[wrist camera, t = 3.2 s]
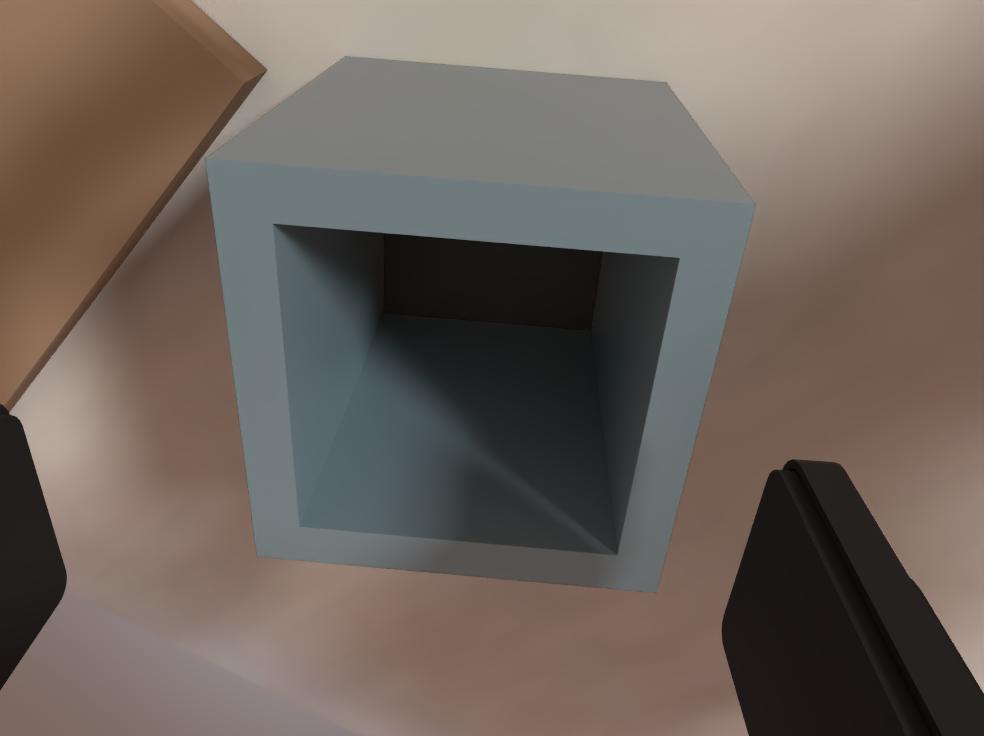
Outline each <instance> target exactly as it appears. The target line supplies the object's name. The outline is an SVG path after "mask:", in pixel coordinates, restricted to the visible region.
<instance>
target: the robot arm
mask: <svg viewBox="0 0 984 736" xmlns="http://www.w3.org/2000/svg"><path fill="white" fill-rule="evenodd" d="M66 581H67V575H66V569H65V566H64V563H63V559H62V556H61V552H60V549H59V546H58V542H57V539H56V536H55V532H54V529H53V526H52V522H51V519H50V516H49V512H48V509H47V506H46V502H45V499H44V496H43V492H42V489H41V486H40V482H39V479H38V476H37V472H36V469H35V466H34V462H33V459H32V456H31V452H30V449H29V446H28V442H27V439H26V436H25V432H24V429H23V426H22V424H21V422H20V420H19V419H18V418H17V417H15V416H12V415H10V414H9V411H8V410H7V409H6V408H5V407H4V406H3V405H2V404H0V690H1V688H2V687H3V685H4V684H5V682H6V681H7V680H8V678H9V676H10V675H11V673H12V672H13V670H14V669H15V668H16V666H17V665H18V663H19V662H20V660H21V659H22V657H23V656H24V654H25V653H26V651H27V650H28V648H29V647H30V645H31V644H32V642H33V641H34V639H35V638H36V637H37V635H38V634H39V632H40V631H41V629H42V628H43V626H44V625H45V623H46V622H47V620H48V619H49V617H50V616H51V614H52V613H53V611H54V610H55V608H56V607H57V605H58V604H59V602H60V600H61V599H62V597H63V594H64V591H65V587H66ZM722 640H723V646H724V650H725V654H726V657H727V661H728V664H729V668H730V671H731V675H732V678H733V682H734V685H735V689H736V692H737V696H738V699H739V703H740V706H741V710H742V713H743V717H744V720H745V724H746V727H747V731H748V734H749V736H984V693H983V692H982V690H981V688H980V687H979V685H978V683H977V682H976V680H975V678H974V677H973V675H972V673H971V672H970V670H969V668H968V667H967V665H966V664H965V662H964V660H963V659H962V657H961V655H960V654H959V652H958V650H957V649H956V647H955V645H954V644H953V642H952V641H951V639H950V637H949V636H948V634H947V632H946V631H945V629H944V627H943V626H942V624H941V622H940V621H939V619H938V617H937V616H936V614H935V613H934V611H933V609H932V608H931V606H930V604H929V603H928V601H927V599H926V598H925V596H924V594H923V593H922V591H921V590H920V589H919V587H918V586H917V585H916V584H915V582H914V581H913V580H912V579H910V578H909V576H908V574H907V573H906V571H905V569H904V568H903V566H902V564H901V563H900V561H899V559H898V558H897V556H896V554H895V553H894V551H893V549H892V548H891V546H890V544H889V543H888V541H887V539H886V538H885V536H884V534H883V533H882V531H881V529H880V528H879V526H878V524H877V523H876V521H875V519H874V518H873V516H872V514H871V513H870V511H869V509H868V508H867V506H866V505H865V503H864V501H863V500H862V498H861V496H860V495H859V493H858V491H857V490H856V488H855V486H854V485H853V483H852V481H851V480H850V478H849V476H848V475H847V473H846V471H845V470H844V468H843V467H842V466H841V465H840V464H838V463H835V462H821V461H807V460H790V461H788V462H787V463H786V464H785V465H784V468H783V470H773V471H772V472H771V473H770V474H769V477H768V479H767V482H766V485H765V488H764V491H763V495H762V498H761V501H760V504H759V507H758V510H757V513H756V516H755V520H754V523H753V526H752V529H751V532H750V535H749V538H748V541H747V545H746V548H745V551H744V554H743V557H742V560H741V563H740V567H739V570H738V573H737V576H736V579H735V582H734V585H733V588H732V592H731V595H730V598H729V601H728V604H727V607H726V610H725V613H724V617H723V622H722Z"/></svg>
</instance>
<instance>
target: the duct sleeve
mask: <svg viewBox="0 0 984 736" xmlns="http://www.w3.org/2000/svg"><path fill="white" fill-rule="evenodd" d="M205 160H206V168H207V175H208V183H209V191H210V199H211V206H212V214H213V222H214V229H215V237H216V245H217V253H218V260H219V268H220V276H221V283H222V291H223V299H224V307H225V314H226V322H227V330H228V337H229V345H230V353H231V360H232V368H233V376H234V384H235V391H236V399H237V407H238V414H239V422H240V430H241V438H242V445H243V453H244V461H245V468H246V476H247V484H248V492H249V499H250V507H251V515H252V522H253V530H254V538H255V546H256V553H257V557H265V558H277V559H288V560H299V561H310V562H321V563H332V564H343V565H354V566H365V567H376V568H387V569H398V570H409V571H420V572H431V573H442V574H453V575H464V576H475V577H486V578H497V579H508V580H519V581H530V582H541V583H552V584H563V585H574V586H585V587H596V588H607V589H618V590H629V591H641V592H652V593H656V592H657V589H658V585H659V581H660V577H661V573H662V569H663V565H664V561H665V557H666V553H667V549H668V546H669V542H670V538H671V534H672V530H673V526H674V522H675V518H676V514H677V510H678V507H679V503H680V499H681V495H682V491H683V487H684V483H685V479H686V475H687V471H688V467H689V464H690V460H691V456H692V452H693V448H694V444H695V440H696V436H697V432H698V428H699V424H700V421H701V417H702V413H703V409H704V405H705V401H706V397H707V393H708V389H709V385H710V381H711V378H712V374H713V370H714V366H715V362H716V358H717V354H718V350H719V346H720V342H721V338H722V335H723V331H724V327H725V323H726V319H727V315H728V311H729V307H730V303H731V299H732V295H733V292H734V288H735V284H736V280H737V276H738V272H739V268H740V264H741V260H742V256H743V252H744V249H745V245H746V241H747V237H748V233H749V229H750V225H751V221H752V217H753V213H754V209H755V206H756V204H755V202H754V201H753V200H752V198H751V197H750V196H749V194H748V193H747V192H746V190H745V189H744V187H743V186H742V185H741V183H740V182H739V181H738V179H737V178H736V177H735V175H734V174H733V172H732V171H731V170H730V168H729V167H728V166H727V164H726V163H725V162H724V160H723V159H722V157H721V156H720V155H719V153H718V152H717V151H716V149H715V148H714V147H713V145H712V144H711V142H710V141H709V140H708V138H707V137H706V136H705V134H704V133H703V131H702V130H701V129H700V127H699V126H698V125H697V123H696V122H695V121H694V119H693V118H692V116H691V115H690V114H689V112H688V111H687V110H686V108H685V107H684V106H683V104H682V103H681V101H680V100H679V99H678V97H677V96H676V95H675V93H674V92H673V91H672V89H671V88H670V86H669V85H668V84H667V82H655V81H642V80H630V79H618V78H606V77H593V76H581V75H569V74H556V73H544V72H532V71H519V70H507V69H495V68H482V67H470V66H458V65H445V64H433V63H421V62H408V61H396V60H384V59H371V58H359V57H347V56H345V57H344V58H342V59H341V60H340V61H338V62H337V63H335V64H334V65H333V66H331V67H330V68H329V69H327V70H326V71H324V72H323V73H322V74H320V75H319V76H318V77H316V78H315V79H314V80H312V81H311V82H309V83H308V84H307V85H305V86H304V87H303V88H301V89H300V90H298V91H297V92H296V93H294V94H293V95H292V96H290V97H289V98H287V99H286V100H285V101H283V102H282V103H281V104H279V105H278V106H277V107H275V108H274V109H272V110H271V111H270V112H268V113H267V114H266V115H264V116H263V117H261V118H260V119H259V120H257V121H256V122H255V123H253V124H252V125H250V126H249V127H248V128H246V129H245V130H244V131H242V132H241V133H240V134H238V135H237V136H235V137H234V138H233V139H231V140H230V141H229V142H227V143H226V144H224V145H223V146H222V147H220V148H219V149H218V150H216V151H215V152H213V153H212V154H211V155H209V156H208V157H207V158H205ZM383 233H391V234H403V235H414V236H426V237H438V238H450V239H462V240H474V241H486V242H497V243H509V244H521V245H533V246H545V247H557V248H569V249H580V250H592V251H603V257H602V264H601V270H600V277H599V283H598V290H597V296H596V303H595V309H594V316H593V322H592V329H591V331H585V330H574V329H562V328H550V327H539V326H527V325H516V324H504V323H492V322H481V321H469V320H457V319H446V318H434V317H422V316H411V315H399V314H387V313H384V276H383Z"/></svg>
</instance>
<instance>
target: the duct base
mask: <svg viewBox="0 0 984 736" xmlns="http://www.w3.org/2000/svg"><path fill="white" fill-rule="evenodd" d="M266 71H267V69H266V68H265V67H264V66H263V65H262V64H261V63H259V62H258V61H257V60H256V59H255V58H254V57H253V56H252V55H251V54H250V53H248V52H247V51H246V50H245V49H244V48H243V47H242V46H241V45H240V44H239V43H237V42H236V41H235V40H234V39H233V38H232V37H231V36H230V35H229V34H228V33H226V32H225V31H224V30H223V29H222V28H221V27H220V26H219V25H218V24H217V23H215V22H214V21H213V20H212V19H211V18H210V17H209V16H208V15H207V14H206V13H204V12H203V11H202V10H201V9H200V8H199V7H198V6H197V5H196V4H194V3H193V2H192V1H191V0H0V404H2V405H3V406H4V407H5V408H6V409H7V410H8V411H9V412H10V411H11V409H12V408H13V407H14V405H15V404H16V403H17V401H18V400H19V399H20V397H21V396H22V395H23V393H24V392H25V391H26V389H27V388H28V387H29V386H30V384H31V383H32V382H33V380H34V379H35V378H36V376H37V375H38V374H39V372H40V371H41V370H42V368H43V367H44V366H45V364H46V363H47V362H48V360H49V359H50V358H51V356H52V355H53V354H54V352H55V351H56V350H57V348H58V347H59V346H60V344H61V343H62V342H63V340H64V339H65V338H66V336H67V335H68V334H69V332H70V331H71V330H72V328H73V327H74V326H75V324H76V323H77V322H78V321H79V319H80V318H81V317H82V315H83V314H84V313H85V311H86V310H87V309H88V307H89V306H90V305H91V303H92V302H93V301H94V299H95V298H96V297H97V295H98V294H99V293H100V291H101V290H102V289H103V287H104V286H105V285H106V283H107V282H108V281H109V279H110V278H111V277H112V275H113V274H114V273H115V271H116V270H117V269H118V267H119V266H120V265H121V263H122V262H123V261H124V260H125V258H126V257H127V256H128V254H129V253H130V252H131V250H132V249H133V248H134V246H135V245H136V244H137V242H138V241H139V240H140V238H141V237H142V236H143V234H144V233H145V232H146V230H147V229H148V228H149V226H150V225H151V224H152V222H153V221H154V220H155V218H156V217H157V216H158V214H159V213H160V212H161V210H162V209H163V208H164V206H165V205H166V204H167V202H168V201H169V200H170V198H171V197H172V196H173V195H174V193H175V192H176V191H177V189H178V188H179V187H180V185H181V184H182V183H183V181H184V180H185V179H186V177H187V176H188V175H189V173H190V172H191V171H192V169H193V168H194V167H195V165H196V164H197V163H198V161H199V160H200V159H201V157H202V156H203V155H204V153H205V152H206V151H207V149H208V148H209V147H210V145H211V144H212V143H213V141H214V140H215V139H216V137H217V136H218V135H219V134H220V132H221V131H222V130H223V128H224V127H225V126H226V124H227V123H228V122H229V120H230V119H231V118H232V116H233V115H234V114H235V112H236V111H237V110H238V108H239V107H240V106H241V104H242V103H243V102H244V100H245V99H246V98H247V96H248V95H249V94H250V92H251V91H252V90H253V88H254V87H255V86H256V84H257V83H258V82H259V80H260V79H261V78H262V76H263V75H264V74H265V72H266Z"/></svg>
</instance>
